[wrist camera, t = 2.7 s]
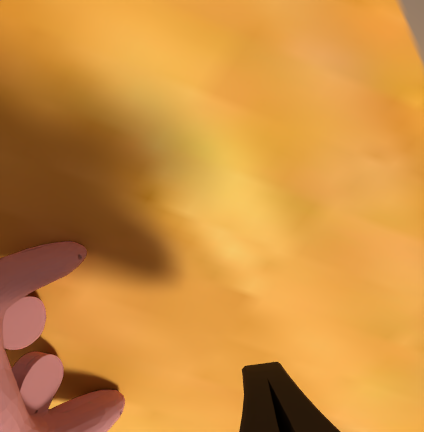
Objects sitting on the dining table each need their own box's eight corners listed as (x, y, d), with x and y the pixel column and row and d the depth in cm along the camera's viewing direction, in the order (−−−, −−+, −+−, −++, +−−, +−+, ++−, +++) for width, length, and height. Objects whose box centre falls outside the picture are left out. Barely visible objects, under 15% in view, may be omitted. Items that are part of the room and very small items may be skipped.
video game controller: (20, 231, 17) (-165, 308, 11) (92, 232, 16) (-81, 324, 10) (69, 391, 20) (-56, 522, 14) (136, 408, 18) (24, 566, 12)
